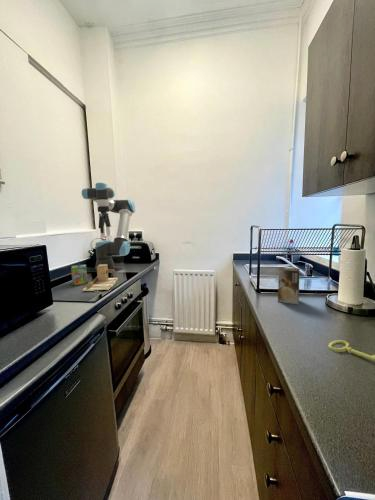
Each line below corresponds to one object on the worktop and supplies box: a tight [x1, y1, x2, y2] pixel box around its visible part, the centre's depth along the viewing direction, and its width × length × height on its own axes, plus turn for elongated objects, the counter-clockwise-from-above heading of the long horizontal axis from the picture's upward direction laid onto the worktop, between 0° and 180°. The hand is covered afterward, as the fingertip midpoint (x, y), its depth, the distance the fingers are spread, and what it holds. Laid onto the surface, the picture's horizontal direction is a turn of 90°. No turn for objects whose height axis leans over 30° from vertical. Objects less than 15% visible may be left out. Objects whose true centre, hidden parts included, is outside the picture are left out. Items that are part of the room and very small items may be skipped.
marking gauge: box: [96, 264, 115, 282], centre depth 147 cm, size 6×10×10 cm, turn 94°
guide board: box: [82, 276, 119, 292], centre depth 142 cm, size 22×15×4 cm
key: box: [327, 339, 375, 362], centre depth 70 cm, size 7×12×2 cm, turn 49°
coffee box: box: [277, 266, 301, 305], centre depth 108 cm, size 9×6×16 cm
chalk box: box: [70, 260, 89, 287], centre depth 148 cm, size 9×9×15 cm
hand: (106, 236), depth 158 cm, fingers open, 13 cm apart
